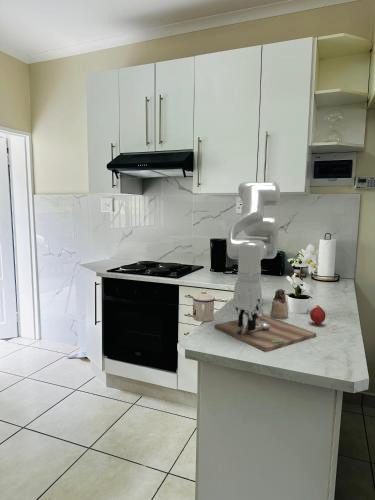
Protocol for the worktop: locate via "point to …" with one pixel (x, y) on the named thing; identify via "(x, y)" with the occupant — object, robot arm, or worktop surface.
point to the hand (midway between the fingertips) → (246, 327)
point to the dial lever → (261, 326)
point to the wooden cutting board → (268, 333)
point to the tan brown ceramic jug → (279, 305)
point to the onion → (317, 315)
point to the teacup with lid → (203, 307)
